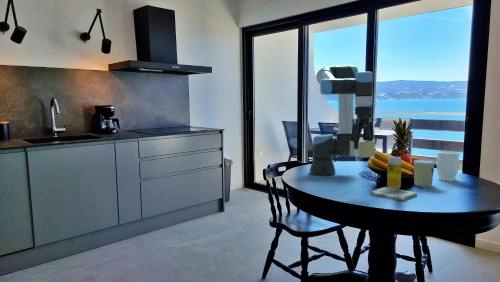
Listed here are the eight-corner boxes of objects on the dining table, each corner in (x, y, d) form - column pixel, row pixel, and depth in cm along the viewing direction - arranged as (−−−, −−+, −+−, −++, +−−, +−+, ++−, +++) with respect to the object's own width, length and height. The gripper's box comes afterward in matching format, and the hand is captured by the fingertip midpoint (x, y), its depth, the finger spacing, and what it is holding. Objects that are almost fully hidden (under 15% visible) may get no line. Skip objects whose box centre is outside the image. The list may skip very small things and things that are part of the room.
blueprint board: (370, 194, 151) (370, 191, 151) (385, 189, 159) (385, 186, 159) (402, 200, 140) (402, 197, 139) (416, 195, 148) (417, 192, 148)
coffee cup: (436, 187, 162) (437, 163, 161) (415, 186, 164) (416, 162, 162) (430, 183, 171) (431, 160, 170) (410, 182, 173) (411, 159, 172)
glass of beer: (385, 187, 163) (385, 157, 161) (390, 185, 167) (391, 156, 165) (397, 189, 158) (398, 158, 157) (402, 187, 163) (403, 157, 161)
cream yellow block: (349, 155, 155) (350, 141, 155) (359, 154, 160) (359, 139, 160) (365, 157, 149) (365, 142, 148) (374, 155, 154) (375, 141, 153)
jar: (462, 180, 176) (464, 152, 174) (449, 182, 172) (450, 153, 171) (444, 176, 186) (445, 150, 184) (431, 178, 182) (432, 151, 180)
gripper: (357, 106, 143) (356, 158, 145) (383, 105, 156) (381, 153, 158) (342, 106, 149) (342, 156, 151) (368, 106, 162) (367, 152, 164)
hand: (362, 155), depth 155 cm, fingers closed on cream yellow block, 8 cm apart
